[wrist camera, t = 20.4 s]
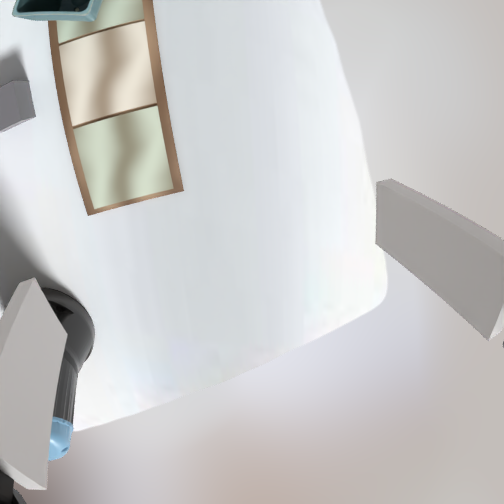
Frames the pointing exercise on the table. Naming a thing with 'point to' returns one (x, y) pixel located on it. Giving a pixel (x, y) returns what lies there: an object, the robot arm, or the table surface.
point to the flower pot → (57, 10)
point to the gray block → (15, 104)
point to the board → (115, 105)
